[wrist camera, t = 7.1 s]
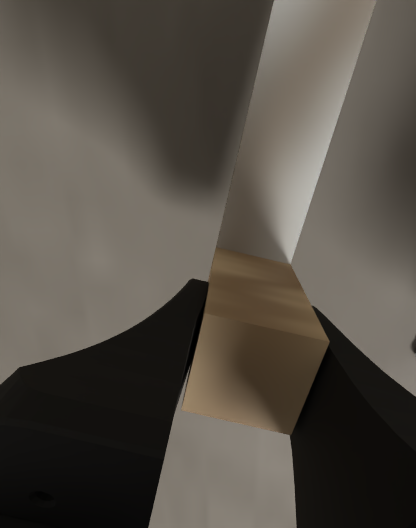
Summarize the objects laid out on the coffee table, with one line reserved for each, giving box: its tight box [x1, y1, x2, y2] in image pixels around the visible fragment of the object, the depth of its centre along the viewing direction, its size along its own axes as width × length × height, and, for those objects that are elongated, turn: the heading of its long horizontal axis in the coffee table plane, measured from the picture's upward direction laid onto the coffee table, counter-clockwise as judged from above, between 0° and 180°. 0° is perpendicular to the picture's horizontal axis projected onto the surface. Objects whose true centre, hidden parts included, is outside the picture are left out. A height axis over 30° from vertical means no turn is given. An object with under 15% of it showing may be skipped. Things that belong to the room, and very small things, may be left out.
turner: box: [181, 0, 377, 435], centre depth 9 cm, size 3×13×6 cm, turn 168°
